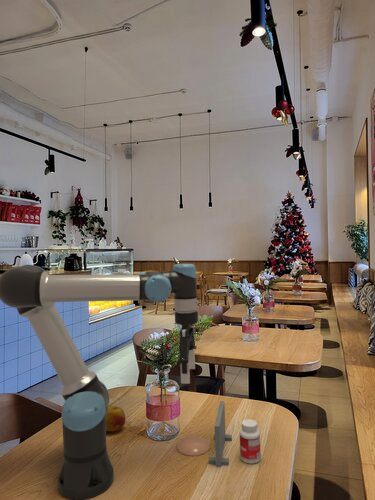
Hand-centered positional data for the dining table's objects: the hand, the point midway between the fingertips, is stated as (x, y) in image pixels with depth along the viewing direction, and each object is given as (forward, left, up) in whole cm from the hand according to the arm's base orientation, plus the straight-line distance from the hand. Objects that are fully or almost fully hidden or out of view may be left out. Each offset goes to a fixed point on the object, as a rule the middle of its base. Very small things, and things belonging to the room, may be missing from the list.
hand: (188, 375), depth 124 cm
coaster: (-1, -1, -23) cm, 23 cm away
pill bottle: (-6, -19, -23) cm, 31 cm away
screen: (-2, -10, -23) cm, 25 cm away
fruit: (+7, +30, -23) cm, 38 cm away
